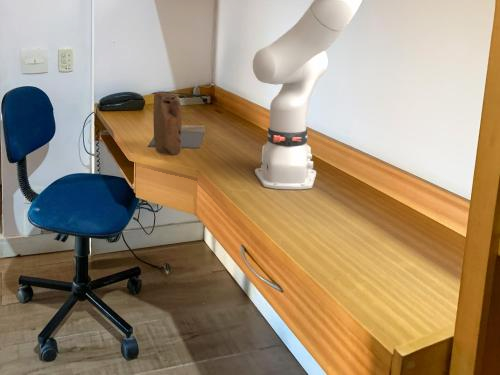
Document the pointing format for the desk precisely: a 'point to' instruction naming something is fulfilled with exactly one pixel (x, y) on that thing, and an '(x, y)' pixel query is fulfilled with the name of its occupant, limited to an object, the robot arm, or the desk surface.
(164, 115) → the block
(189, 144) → the mat
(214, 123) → the desk surface
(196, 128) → the stop strip
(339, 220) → the desk surface
